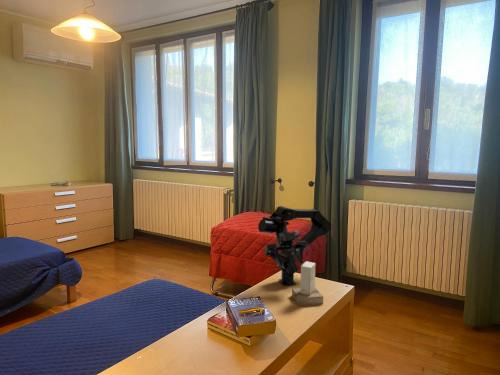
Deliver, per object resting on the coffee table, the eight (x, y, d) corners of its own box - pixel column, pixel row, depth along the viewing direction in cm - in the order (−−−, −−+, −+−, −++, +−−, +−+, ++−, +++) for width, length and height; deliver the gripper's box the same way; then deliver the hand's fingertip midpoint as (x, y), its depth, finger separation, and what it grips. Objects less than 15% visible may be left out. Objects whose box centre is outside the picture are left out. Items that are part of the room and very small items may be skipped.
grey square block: (291, 297, 163) (292, 288, 162) (313, 295, 165) (314, 286, 164) (299, 307, 153) (300, 298, 153) (322, 305, 155) (323, 296, 155)
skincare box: (309, 296, 155) (311, 268, 152) (299, 293, 157) (300, 265, 154) (315, 289, 160) (316, 262, 158) (305, 287, 162) (306, 260, 160)
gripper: (267, 225, 160) (276, 259, 151) (307, 222, 166) (318, 255, 157) (260, 238, 169) (268, 271, 160) (298, 235, 174) (308, 266, 166)
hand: (291, 265), depth 160 cm, fingers open, 9 cm apart
